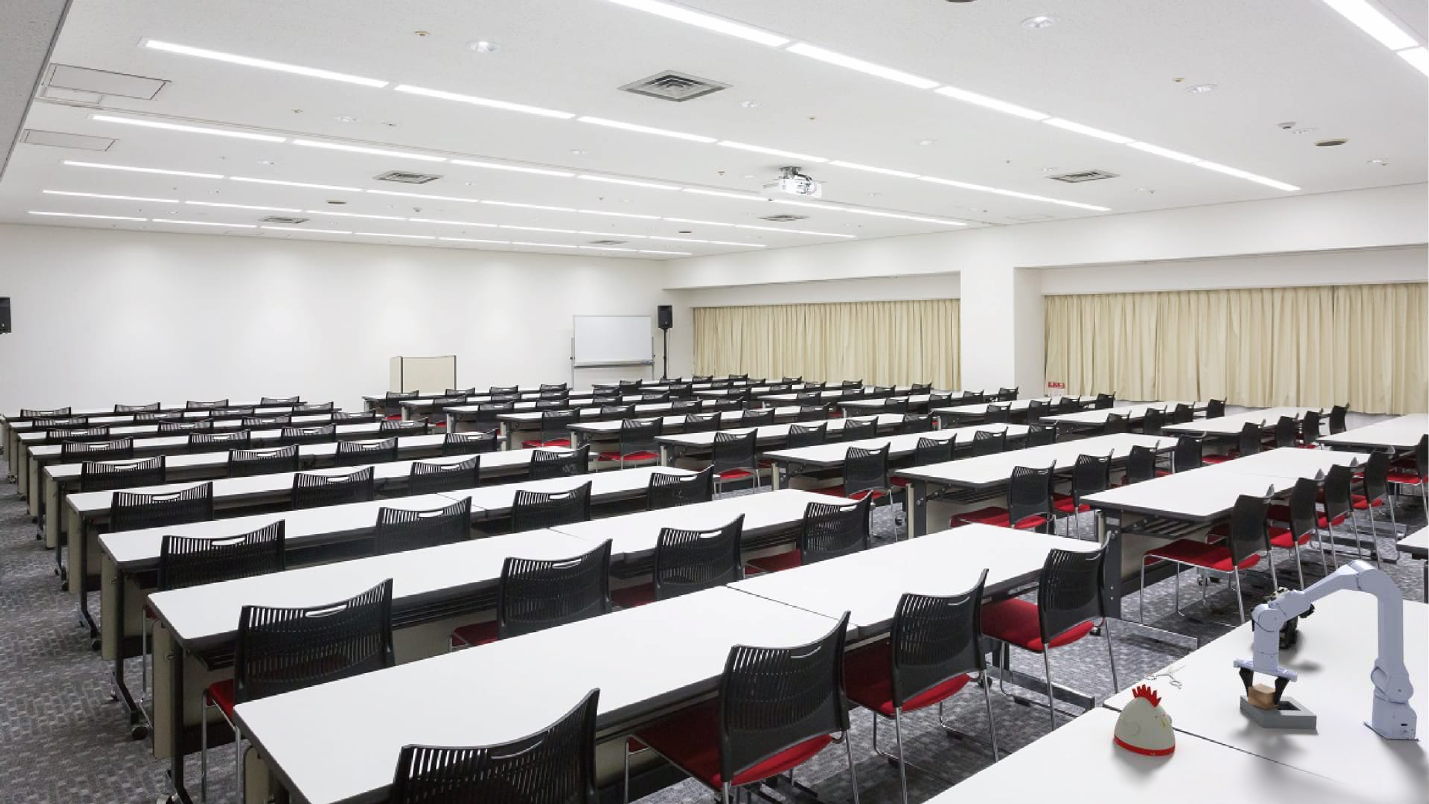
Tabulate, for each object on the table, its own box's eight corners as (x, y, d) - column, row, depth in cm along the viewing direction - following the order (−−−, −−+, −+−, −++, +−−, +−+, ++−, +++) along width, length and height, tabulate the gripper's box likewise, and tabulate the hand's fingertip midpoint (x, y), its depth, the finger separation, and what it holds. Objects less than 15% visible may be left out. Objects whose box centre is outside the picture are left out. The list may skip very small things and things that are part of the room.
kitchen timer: (1147, 760, 219) (1149, 701, 217) (1102, 736, 231) (1103, 680, 230) (1187, 749, 224) (1190, 690, 223) (1141, 726, 237) (1143, 671, 235)
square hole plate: (1316, 728, 234) (1316, 715, 234) (1263, 727, 235) (1263, 714, 235) (1290, 708, 246) (1290, 696, 246) (1239, 707, 247) (1240, 695, 247)
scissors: (1141, 678, 266) (1159, 658, 282) (1141, 681, 267) (1159, 660, 282) (1180, 688, 260) (1197, 666, 275) (1180, 690, 260) (1197, 669, 275)
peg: (1277, 717, 240) (1278, 690, 239) (1265, 721, 238) (1267, 693, 237) (1259, 710, 244) (1260, 683, 244) (1247, 714, 242) (1248, 686, 241)
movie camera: (1310, 657, 280) (1310, 601, 280) (1244, 645, 293) (1244, 592, 292) (1328, 634, 303) (1328, 582, 303) (1267, 625, 315) (1267, 575, 315)
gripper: (1301, 653, 237) (1299, 703, 238) (1240, 639, 247) (1237, 687, 249) (1294, 661, 232) (1291, 712, 233) (1231, 646, 242) (1229, 695, 244)
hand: (1263, 700), depth 241 cm, fingers closed on peg, 6 cm apart
